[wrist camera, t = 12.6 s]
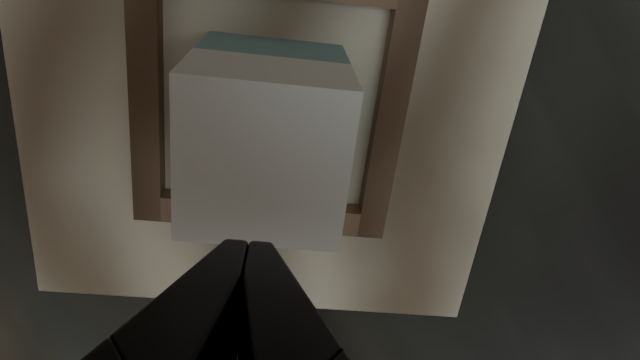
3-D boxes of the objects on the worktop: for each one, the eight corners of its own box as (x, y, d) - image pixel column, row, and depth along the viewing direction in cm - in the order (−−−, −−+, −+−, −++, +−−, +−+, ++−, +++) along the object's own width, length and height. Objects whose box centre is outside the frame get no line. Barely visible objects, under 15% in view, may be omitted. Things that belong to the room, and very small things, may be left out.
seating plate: (577, -151, 16) (608, -161, 14) (450, 302, 24) (462, 329, 22) (-20, -242, 14) (-60, -265, 13) (49, 276, 22) (29, 302, 20)
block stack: (342, 45, 17) (363, 92, 12) (327, 165, 19) (339, 252, 14) (209, 30, 17) (169, 72, 12) (207, 154, 19) (171, 241, 13)
